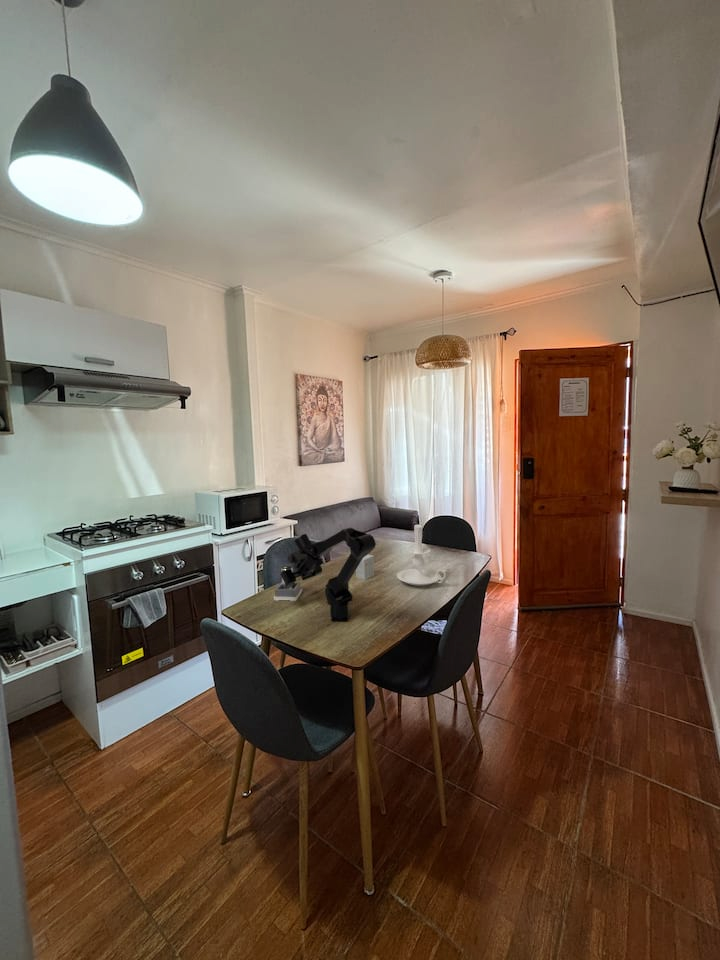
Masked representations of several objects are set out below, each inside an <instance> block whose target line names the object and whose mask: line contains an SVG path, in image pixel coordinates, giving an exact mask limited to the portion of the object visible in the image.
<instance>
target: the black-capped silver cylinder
mask: <svg viewBox="0 0 720 960" xmlns="http://www.w3.org/2000/svg"><path fill="white" fill-rule="evenodd" d="M293 565H294V564H293V563H283V564H281V567H280V570H281V572H282V570H286V569H291V570H292V572H293V573H294V569H293V568H294V567H293ZM281 572H280V573H281ZM281 582H282V589H294V584H292V585H289V586H285V582H284V580H283V579H282V578H281Z"/></svg>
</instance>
